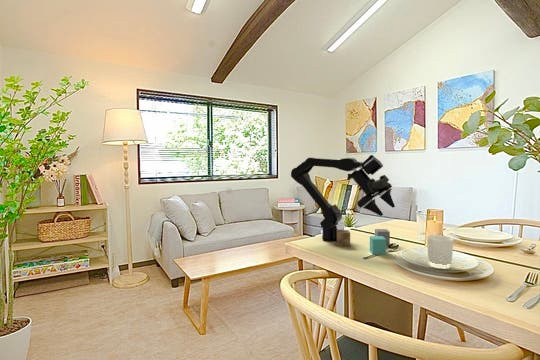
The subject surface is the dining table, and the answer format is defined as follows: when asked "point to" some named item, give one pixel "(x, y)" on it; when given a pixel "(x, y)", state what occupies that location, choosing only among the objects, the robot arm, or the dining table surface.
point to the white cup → (440, 249)
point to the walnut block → (343, 238)
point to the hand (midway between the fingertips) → (388, 211)
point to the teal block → (378, 245)
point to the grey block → (383, 234)
